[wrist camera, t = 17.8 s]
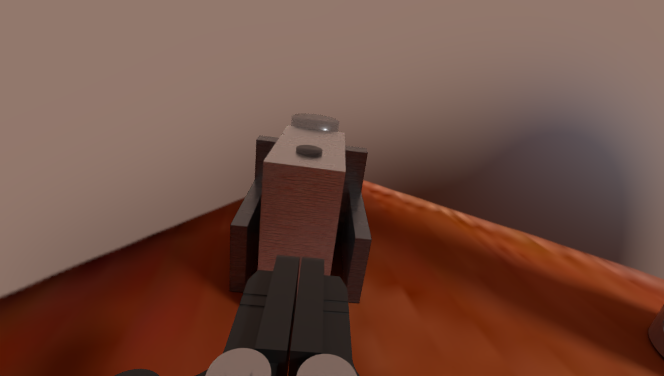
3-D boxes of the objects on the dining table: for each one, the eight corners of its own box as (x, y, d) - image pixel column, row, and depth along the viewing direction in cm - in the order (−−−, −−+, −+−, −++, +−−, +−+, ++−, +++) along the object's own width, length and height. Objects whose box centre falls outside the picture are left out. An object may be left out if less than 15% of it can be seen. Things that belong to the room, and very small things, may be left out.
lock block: (328, 249, 35) (345, 130, 30) (322, 323, 26) (346, 167, 21) (278, 243, 35) (287, 122, 30) (255, 315, 25) (263, 157, 21)
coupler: (350, 227, 40) (368, 119, 35) (359, 303, 28) (387, 157, 23) (258, 217, 39) (264, 107, 34) (229, 291, 27) (231, 139, 23)
